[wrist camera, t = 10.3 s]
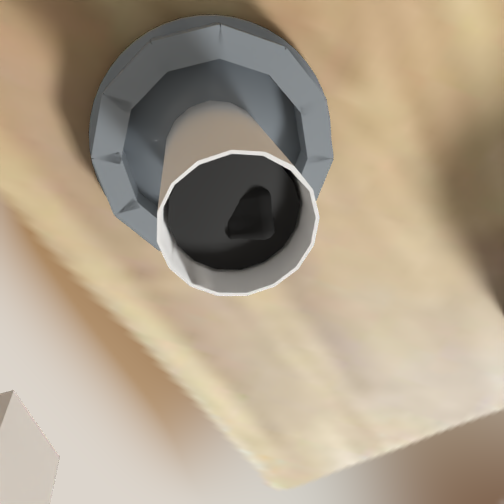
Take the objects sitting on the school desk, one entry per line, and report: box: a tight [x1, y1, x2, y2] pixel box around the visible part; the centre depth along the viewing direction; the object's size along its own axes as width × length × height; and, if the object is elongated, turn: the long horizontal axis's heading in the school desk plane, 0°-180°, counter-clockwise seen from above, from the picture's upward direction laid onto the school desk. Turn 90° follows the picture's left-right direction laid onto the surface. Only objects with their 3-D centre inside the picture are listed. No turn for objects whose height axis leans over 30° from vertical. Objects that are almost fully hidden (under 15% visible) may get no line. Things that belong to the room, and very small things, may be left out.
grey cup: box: [157, 101, 320, 296], centre depth 23 cm, size 7×7×10 cm
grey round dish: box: [89, 15, 333, 251], centre depth 27 cm, size 14×14×2 cm
